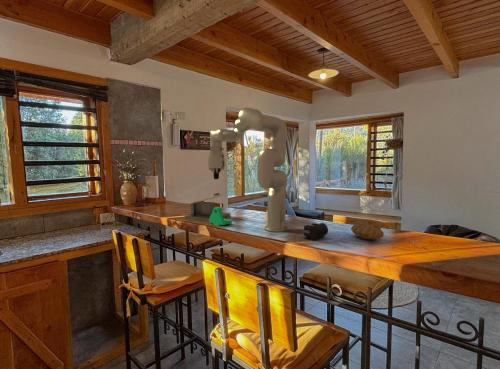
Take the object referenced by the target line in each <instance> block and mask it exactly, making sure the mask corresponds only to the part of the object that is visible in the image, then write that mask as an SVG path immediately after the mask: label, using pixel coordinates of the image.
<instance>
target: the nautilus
mask: <svg viewBox="0 0 500 369" xmlns="http://www.w3.org/2000/svg"><path fill="white" fill-rule="evenodd" d="M350 230H351V231H352V233H353V234H354V235H355V236H357V237H359V238H361V239H363V240H371V241H376V240H378V239H380V238H381V239H382V238H383V237H384V235H385V234H384V231H383V230H382V229H381V227H380V226H379V225H378V224H377V222H372V221H370V220H363V221H357V222H355V223H354V224H353V225H352V226H351V227H350Z"/></svg>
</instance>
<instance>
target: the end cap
mask: <svg viewBox="0 0 500 369" xmlns="http://www.w3.org/2000/svg"><path fill="white" fill-rule="evenodd" d="M303 230H304V231H307V232H303V236H304V240H305V241H306V240H307V241H311V242H312V241H315V240H318V239H322V238H323V237H325V236H326V235H327V234H328V232H329V226H327V224H326V223H324V222H322V223H321V222H320V223H315V222H313V223H311V224H306V225H304V226H303Z"/></svg>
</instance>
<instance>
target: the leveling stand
mask: <svg viewBox="0 0 500 369" xmlns="http://www.w3.org/2000/svg"><path fill="white" fill-rule="evenodd" d="M214 208H216V203H215V202H214V201H213V202H212V201H207V202H205V200H204V201H199V202H194V203H191V202H190V214H188V215H187V214H186V215H184V220H192V221H200V220H201V222H209V218H210V216H211V214H212V211H213V209H214ZM222 216H223V219H228V218H230V217H231V213H230V212H222Z"/></svg>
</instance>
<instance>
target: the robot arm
mask: <svg viewBox="0 0 500 369" xmlns="http://www.w3.org/2000/svg"><path fill="white" fill-rule="evenodd" d="M234 127H235V128H233V129H227V128H226V129H225V128H219V129H214V130H211V131H210V132H209V139H210V140H209V146H210V147H209V152H208V160H207V165H208V170H210V171H211V172H212V173H213V180H219V178H220V172H221V171H224V170H225V167H226V161H225V154H224V152H223V151H224V148H223V143H224V142H227V143H234V142H236V141H238V140H240V139H241V138H243V137H244V135H245V133H246V132H248V131H249V130H251V129H252V130H255V131H258V132H264V133H271V135H270V136H269V147H266V148H265V147H264V148H263V149H261V151H259V154H258V157H257V183H258V185H259V187H260V188H262V189H264V190H266V189H267V190H268V193H267V225H265V226H264V230H265V231H268V232H273V233H274V232H276V233H278V232H286V231H288V230H289V228H293V227H294V224H293V223H290V222H288V220H286V211H287V210H286V209H287V207H286V205H287V204H286V198H287V197H286V194H287V186H288V180H289V179H288V175H287V173H286V172H285V171H284V170H282V169H275V168H279V167H282V166H284V165H285V163H286V154H287V153H286V152H287V151H286V150H287V134H288V133H287V132H288V128H287V124H286V122H285V121H284V120H283V119H282V118H280V117H276V116H273V115H267V114H263V113H262V111H260V110H259V109H256V108H252V107H242V109H240V110H239V113H238V118H237V119H235V121H234Z"/></svg>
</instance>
